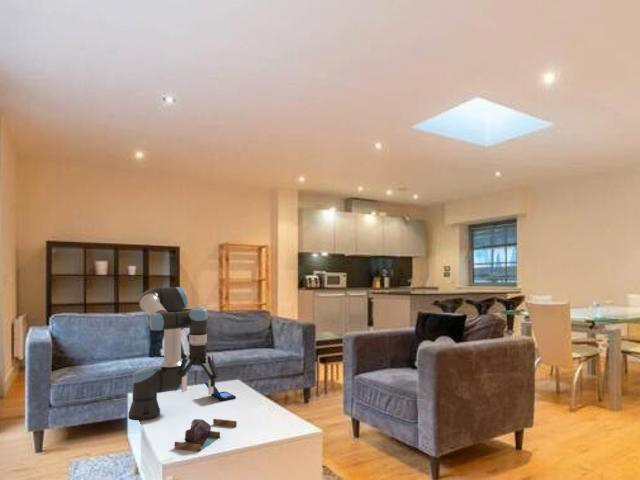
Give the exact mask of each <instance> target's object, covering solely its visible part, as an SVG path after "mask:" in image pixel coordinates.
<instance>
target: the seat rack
mask: <svg viewBox="0 0 640 480" xmlns="http://www.w3.org/2000/svg"><path fill="white" fill-rule="evenodd" d="M237 423H238V422H237V420H231V419H230V420H229V419H221V418H213V419H212V425H213V426H222V427H230V428H231V427H232V428H237V425H238V424H237ZM208 437H211V438H218V439H221V432H220V431H215V430H210V434H209V436H208ZM184 442H185V441H183V442H182V441H174V449H176V450H184V451H192V452H199V453H200V452H201V451H202V450H201V445H200V444H192V443H184Z"/></svg>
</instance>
